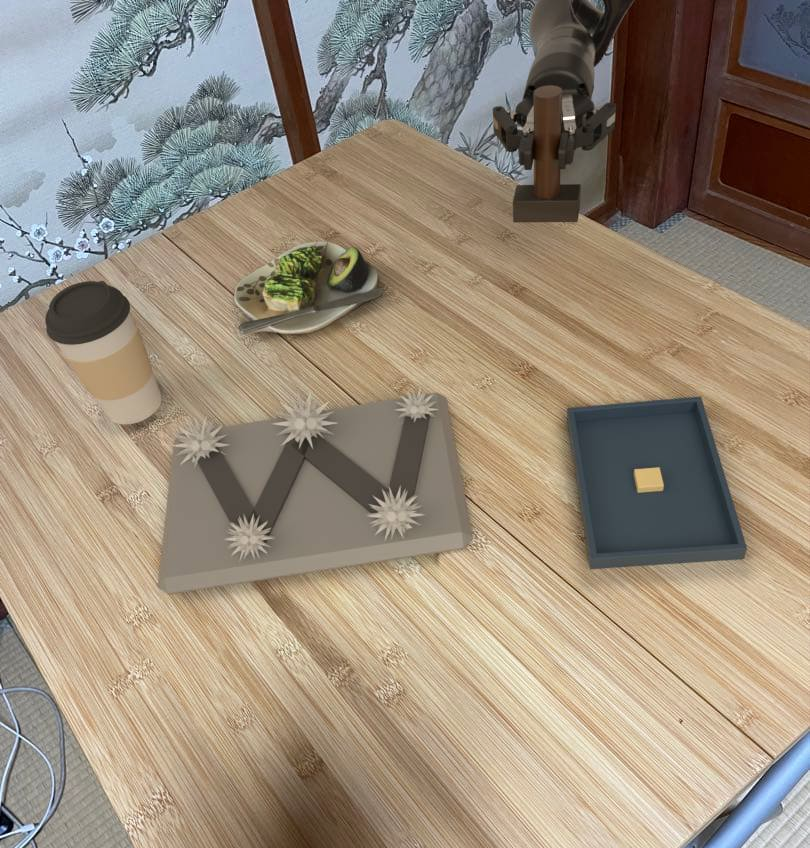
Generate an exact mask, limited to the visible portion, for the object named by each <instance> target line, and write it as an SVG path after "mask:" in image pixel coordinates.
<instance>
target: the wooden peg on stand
mask: <svg viewBox="0 0 810 848" xmlns="http://www.w3.org/2000/svg"><path fill="white" fill-rule="evenodd" d="M561 128H562V89H561V88H560V87H558V86H552V85H549V86H542V87H539V88H537V89H536V90H535V91H534V160H533V184H516V186H515V190H514V193H513V194H514V195H513V197H512V222H513V223H578V222H579V215H580V208H581V193H582V192H581V191H582V184H580V183H574V184H573V183H572V184H571V183H570V184H569V183H567V184H565V183H564V184H562V183H561V170H562V169H558V152H559V144H560V139H561Z"/></svg>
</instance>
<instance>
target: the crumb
mask: <svg viewBox="0 0 810 848" xmlns="http://www.w3.org/2000/svg"><path fill="white" fill-rule="evenodd" d="M634 479H635V484H636V489H637V492H638V493H642V492H655V491H663V488H664V484H663V479H662V475H661V471H660V468H659V467H657V468H644V469H634Z"/></svg>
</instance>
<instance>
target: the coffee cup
mask: <svg viewBox="0 0 810 848" xmlns="http://www.w3.org/2000/svg"><path fill="white" fill-rule="evenodd" d="M44 318H45V319H44V321H45V322H44V323H45V326H46V327H45V330H46V334H47V336H48V337H49V338H50V339H51V340H52V341H53V342H55V344H56V345H57V347H58V349H59V353H60V354H61V356H62V357H63V359H65V361H66V363H67V364H68V365H69V367H70V369H72V371H73V372H74V374H75V375H76V376H77V378H78V379H79V380H80V383H81V384H82V385H83V386H84V388H85V389H86V390H87V392H88V393H89V395H91V396H92V397H93V399H94V400H95V402H96V403H97V404H98V406H99V407H100V408H101V410H102V412H103V413H104V415H105V416H106V418H107V419H108V420H109V421H111V422H112V423H114V424H117V425H124V426H126V425H133V424H134V425H135V424H137V423H140V422H142V421H143V422H144V421H145V420H146V419H148V418H150V417H152V415H154V414H155V413H156V412H157V411H158V409H159V408H160V406H161V404H162V401H163V396H162V392H161V390H160V387H159V385H158V382H157V379H156V376H155V373H154V371H153V365H152V363H151V360H150V357H149V354H148V351H147V349H146V345H145V343H144V340H143V337H142V335H141V334H142V333H141V332H140V328H139V325H138V323H137V320H136V319H135V318H134V317H133V314H132V311H131V303H130V300H129V299H128V298H127V296H125V294H123V293H122V291H121V290H120V289H118V288H117V287H114V286H112V285H109V284H107V282H106V281H104V280H100V281H95V280H88V281H87V280H86V281H81V282H76V283H73V284H71V285H69V286H67V287H65V288H63V289H62V290H60V291H59V292H58V293H57V294H56V295H54V296H53V297H52V299H51V301H50V303H49V305H48V309H47V311H46V313H45V317H44Z"/></svg>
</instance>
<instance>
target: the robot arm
mask: <svg viewBox="0 0 810 848" xmlns="http://www.w3.org/2000/svg"><path fill="white" fill-rule="evenodd" d="M602 2H603V5H604V8H603V10H602V11H601V10H600V9H599V8H598V7H596V5H594V4H593V3H592V2H591V1H590V0H537V1H536V3H535V4H534V7H533V9H532V12H531V15H530V19H529V25H528V35H529V40H530V44H531V48H532V51H533V54H534V57H535V58H534V60H533V61H532V63H531V66H530V69H529V72H528V76H527V80H526V84H525V88H524V92H523V96H522V100H521V101H519V102H518V103H517V104H516V106H515V109H513V110H510V109H505V107H504V106H501V105H497V106H493V108H492V120H493V121H492V124H493V125H492V126H493V128H492V129H493V133H494V135H495V136H496V137H497V139H498V141H499V142H500V143H501V145H502V146H503V147H504V150H505V151H506V152H508V153H515V152H518V164H519V166H524V167H523V169H524V171H532V169H533V166H534V91H535V90H536V89H537V88H539V87H542V86H549V85H552V86H558V87H560V88H561V89H562V128H561V139H560V144H559V152H558V169H561V170H566V165H571V164H572V163H573V162H574V157H575V153H576V151H577V149H579V148H581V150H582V151H585V152H586V151H588V152H589V151H591V150H593V149H594V148H595V147H596V146H597V145H599V144H600V143H601V142H602V141H603V140H604V139H605V138H606V137H607V136H608V135H609V134H610V133H611V132H613V131H614V130H615V126H616V125H615V124H616V114H617V113H616V112H617V103H616V102H606V103H605V104H604V105H602V106H597V107H595V103H594V101H593V100H592V97H593V93H594V89H595V67H596V66H598V64H599V63H600V62H601V61H602V59H604V56H605V55H606V53H607V51H608V49H609V47H610V45H611V42H612V41H613V38H614V37H615V35H616V32H617V30H618V28H619V26H620V25H621V23H622V22H623V19H624V17H625V16H626V14H627V13H628V11H629V10H630V8H631V6H632V5H633V4H634V2H635V0H602ZM518 126H519V127H521V128H522V129H518Z"/></svg>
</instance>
